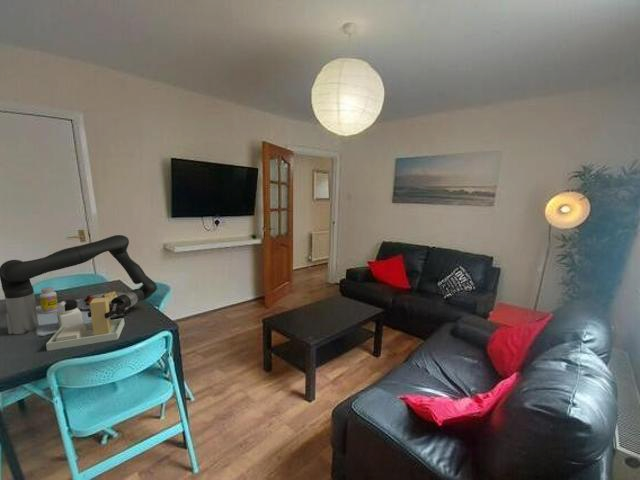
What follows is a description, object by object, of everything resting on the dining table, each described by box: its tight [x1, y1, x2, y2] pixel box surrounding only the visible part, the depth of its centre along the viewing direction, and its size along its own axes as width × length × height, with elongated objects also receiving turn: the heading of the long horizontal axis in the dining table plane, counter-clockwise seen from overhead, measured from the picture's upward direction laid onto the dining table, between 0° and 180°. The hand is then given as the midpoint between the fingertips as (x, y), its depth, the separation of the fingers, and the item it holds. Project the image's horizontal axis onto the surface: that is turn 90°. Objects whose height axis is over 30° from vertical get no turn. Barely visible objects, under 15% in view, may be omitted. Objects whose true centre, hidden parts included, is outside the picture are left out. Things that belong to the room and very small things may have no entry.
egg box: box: [56, 322, 86, 342], centre depth 127 cm, size 7×12×4 cm, turn 25°
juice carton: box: [89, 297, 112, 335], centre depth 130 cm, size 6×6×15 cm
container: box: [56, 299, 84, 328], centre depth 138 cm, size 8×8×13 cm
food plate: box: [77, 290, 125, 310], centre depth 169 cm, size 25×23×4 cm
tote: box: [45, 317, 126, 352], centre depth 129 cm, size 24×16×4 cm, turn 115°
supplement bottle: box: [39, 286, 59, 314], centre depth 155 cm, size 7×7×13 cm
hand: (97, 315), depth 128 cm, fingers closed on juice carton, 7 cm apart
